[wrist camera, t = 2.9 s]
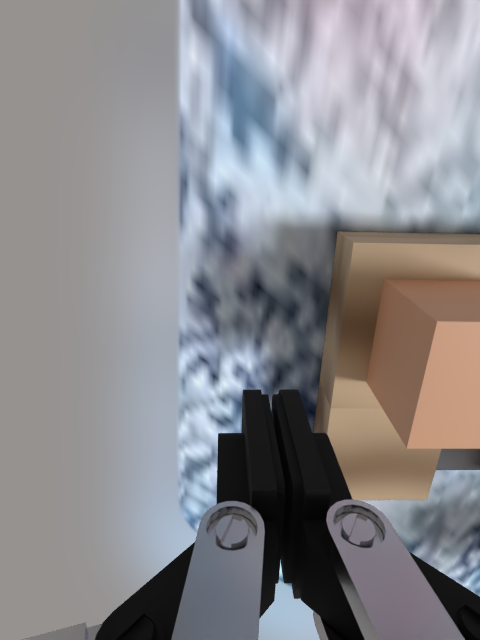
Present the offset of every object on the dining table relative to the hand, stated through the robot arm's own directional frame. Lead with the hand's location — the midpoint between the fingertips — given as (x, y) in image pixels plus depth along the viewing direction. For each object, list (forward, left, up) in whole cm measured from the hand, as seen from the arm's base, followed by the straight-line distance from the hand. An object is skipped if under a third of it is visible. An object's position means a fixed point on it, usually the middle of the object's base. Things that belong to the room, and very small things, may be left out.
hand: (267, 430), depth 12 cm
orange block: (-1, +8, -6) cm, 10 cm away
